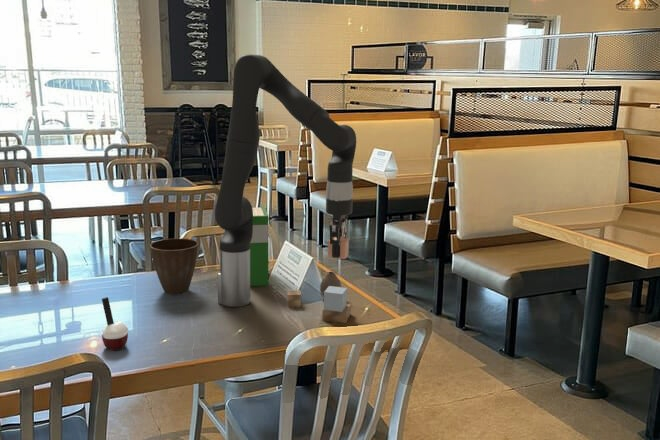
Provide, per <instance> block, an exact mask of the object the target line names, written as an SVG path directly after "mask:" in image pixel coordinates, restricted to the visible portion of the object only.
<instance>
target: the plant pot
mask: <svg viewBox="0 0 660 440" xmlns="http://www.w3.org/2000/svg"><path fill="white" fill-rule="evenodd" d="M149 248H150V252H151V253H150V254H151V257H152V262H153V265H154V269H155V272H156V274H157V278H158V280H159V283H160V285H161V287H162V289H163V292H164V294H166V295H169V296H179V295H184V294H186V293H188V292H189V289H190V287H191V283H192V279H193V276H194V272H195V267H196V264H197V257H198V249H199V242H198V241H197V240H195V239H190V238H167V239H166V238H165V239H161V240H156V241H153V242H151V243H150V245H149Z"/></svg>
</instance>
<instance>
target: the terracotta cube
mask: <svg viewBox="0 0 660 440" xmlns="http://www.w3.org/2000/svg"><path fill="white" fill-rule="evenodd" d="M334 240H337V238H336V237H334ZM349 242H350V237H346V236H345V237H341V244H340V257H339V258H337V259H341V260H346V258H347V257H348V256H349ZM327 243H328V244H327V258H328V259H335V258H334V257H332V244H330V238H329V239H328V241H327Z"/></svg>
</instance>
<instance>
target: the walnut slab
mask: <svg viewBox="0 0 660 440" xmlns="http://www.w3.org/2000/svg"><path fill="white" fill-rule="evenodd" d="M351 305H352V304H351V303H347V306H346V307H345V309H344V310H343V312H338V311H329V310H324V308H323V309H322V321H325V322H335V323H343V324H346V323H347V322H348V320H349V317H350V315H351V310H352V309H351V308H352V307H351Z"/></svg>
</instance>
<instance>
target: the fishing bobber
mask: <svg viewBox="0 0 660 440" xmlns="http://www.w3.org/2000/svg"><path fill="white" fill-rule="evenodd" d="M101 302H102V307H103V310H104V315H105V319H106V324H107V325H106V326H105V327H104V328H103V330H102V335H101V340H102V343H103V346H104V347H105V348H106V349H108V350H109V351H118V349H119V350H121V349H123V348H125V346H126V345H127V342H128V338H129V333H128V332H129V328H128V327H127V325H126V324H125V323H124V322H122V321H121V320H119V321H116V322H115V321H114V318H113V313H112V308H111V304H110V301H109V297H102V298H101Z"/></svg>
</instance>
